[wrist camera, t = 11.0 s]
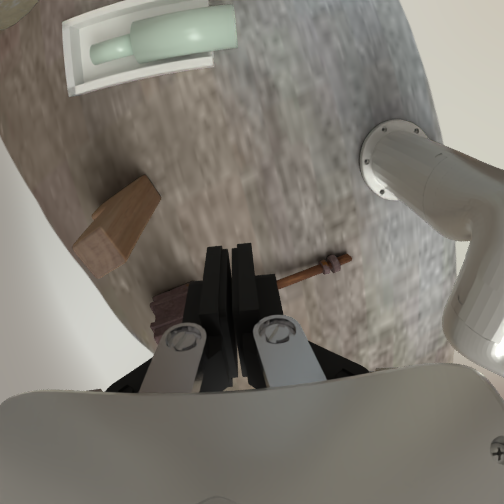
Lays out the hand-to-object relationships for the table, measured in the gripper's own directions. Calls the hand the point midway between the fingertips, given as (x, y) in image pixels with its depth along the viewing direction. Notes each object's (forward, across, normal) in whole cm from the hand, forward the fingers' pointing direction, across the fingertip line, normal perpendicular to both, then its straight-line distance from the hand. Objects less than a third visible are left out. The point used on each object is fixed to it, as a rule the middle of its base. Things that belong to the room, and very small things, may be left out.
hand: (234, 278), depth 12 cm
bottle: (+30, -2, -15) cm, 33 cm away
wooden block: (+33, +16, +7) cm, 38 cm away
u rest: (+33, +11, -16) cm, 38 cm away
